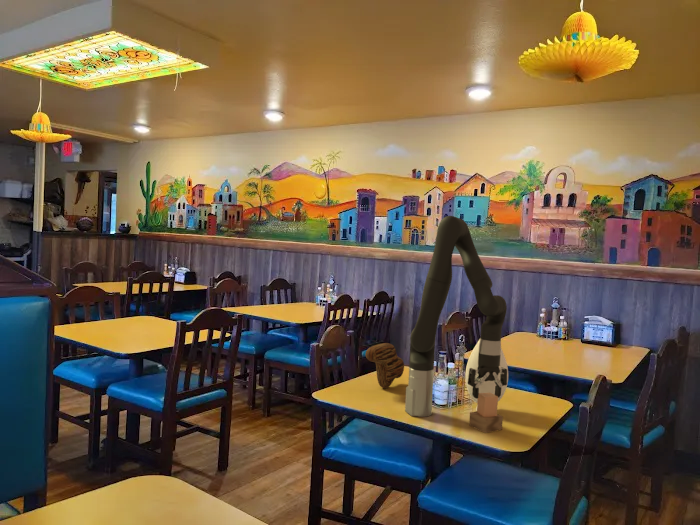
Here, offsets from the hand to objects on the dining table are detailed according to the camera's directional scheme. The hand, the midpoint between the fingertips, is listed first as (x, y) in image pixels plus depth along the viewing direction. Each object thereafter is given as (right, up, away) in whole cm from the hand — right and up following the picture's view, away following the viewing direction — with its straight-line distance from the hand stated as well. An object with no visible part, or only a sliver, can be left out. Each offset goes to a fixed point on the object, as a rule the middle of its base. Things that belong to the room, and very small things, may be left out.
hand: (486, 397), depth 194 cm
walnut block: (0, -11, +1) cm, 11 cm away
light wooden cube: (0, -6, +1) cm, 6 cm away
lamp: (+4, -10, +20) cm, 23 cm away
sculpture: (-33, -8, +45) cm, 57 cm away
